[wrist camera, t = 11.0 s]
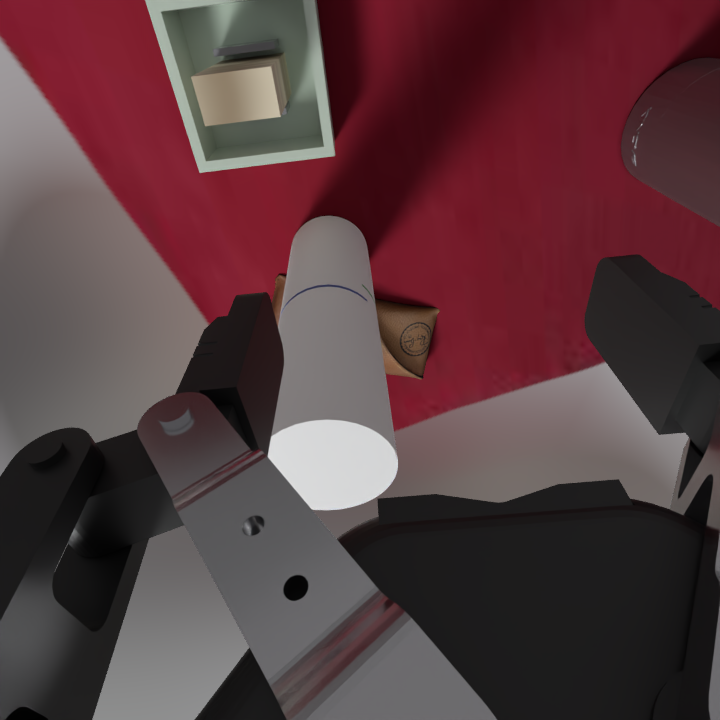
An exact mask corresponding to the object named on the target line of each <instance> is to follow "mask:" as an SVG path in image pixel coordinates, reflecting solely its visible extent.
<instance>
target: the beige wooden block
mask: <svg viewBox="0 0 720 720" xmlns="http://www.w3.org/2000/svg"><path fill="white" fill-rule="evenodd" d="M191 79H192V82H193V86H194V89H195V93H196V96H197V100H198V103H199V107H200V110H201V114H202V117H203V121H204V124H205V126H211V125H219V124H227V123H235V122H243V121H251V120H259V119H267V118H276V117H281V115H282V113H283V111H284V108H285V106H286V104H287V102H288V100H289V98H290V95H291V93H292V92H291V86H290V81H289V75H288V69H287V63H286V57H285V53H277V54H269V55H261V56H254V57H246V58H238V59H230V60H222V61H220V62H218V63H216V64H214V65H213V66H211V67H209V68H207V69H205V70H203V71H201V72H199V73H197V74H195V75H193V76H191Z"/></svg>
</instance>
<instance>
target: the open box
mask: <svg viewBox="0 0 720 720" xmlns="http://www.w3.org/2000/svg"><path fill="white" fill-rule="evenodd" d="M145 1H146V4H147V7H148V11H149V14H150V17H151V20H152V23H153V26H154V30H155V33H156V36H157V39H158V42H159V45H160V49H161V52H162V55H163V58H164V61H165V64H166V68H167V71H168V74H169V77H170V80H171V83H172V87H173V90H174V93H175V96H176V99H177V103H178V106H179V109H180V112H181V115H182V118H183V122H184V125H185V128H186V131H187V134H188V137H189V141H190V144H191V147H192V150H193V153H194V156H195V160H196V163H197V166H198V169H199V172H200V173H201V172H209V171H218V170H226V169H234V168H242V167H250V166H258V165H266V164H274V163H282V162H290V161H298V160H306V159H314V158H322V157H330V156H335V139H334V131H333V123H332V116H331V108H330V100H329V92H328V84H327V77H326V69H325V61H324V53H323V45H322V38H321V30H320V22H319V14H318V6H317V0H145ZM277 53H285V57H286V63H287V69H288V75H289V81H290V86H291V92H292V93H291V95H290V98H289V100H288V102H287V104H286V106H285V108H284V111H283V113H282V115H281V117H276V118H267V119H259V120H251V121H243V122H235V123H227V124H219V125H211V126H205V124H204V121H203V117H202V114H201V110H200V107H199V103H198V100H197V96H196V93H195V89H194V86H193V82H192V79H191V76H193V75H195V74H197V73H199V72H201V71H203V70H205V69H207V68H209V67H211V66H213V65H214V64H216V63H218V62H220V61H222V60H230V59H238V58H246V57H254V56H261V55H269V54H277Z"/></svg>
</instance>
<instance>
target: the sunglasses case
mask: <svg viewBox="0 0 720 720" xmlns="http://www.w3.org/2000/svg"><path fill="white" fill-rule="evenodd" d="M286 277H287V276H285V275H278V276H277V277H276V279H275V281H276V283H275V285H276V288H275V291H274V296H273V300H272V307H273V310H274V314H275V318H276V322H277V326H278V324H279V318H280V312H281V306H282V300H283V294H284V289H285V283H286ZM375 305H376V312H377V319H378V326H379V332H380V339H381V346H382V353H383V360H384V367H385V374H391V375H399V376H407V377H413V378H418V379H423V374H424V369H425V365H426V360H427V355H428V351H429V346H430V342H431V337H432V333H433V329H434V326H435V322H436V318H437V314H438V312H440V310H439V309H437V308H434V307H425V306H424V307H423V306H412V305H405V304H399V303H394V302H388V301H384V300H379V299H375Z"/></svg>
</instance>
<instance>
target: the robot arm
mask: <svg viewBox="0 0 720 720" xmlns="http://www.w3.org/2000/svg"><path fill="white" fill-rule="evenodd" d="M621 151H622V158H623V161H624V164H625V167H626V168H627V170H628V171H629V172H630V174H631V175H633V176H634V177H635V178H637V179H638V180H640V181H641V182H643V183H645V184H647V185H648V186H650V187H652V188H654V189H655V190H657V191H659V192H660V193H662V194H663V195H665V196H667V197H669V198H670V199H672V200H674V201H676V202H677V203H679V204H681V205H683V206H684V207H686V208H688V209H690V210H691V211H693V212H695V213H697V214H698V215H700V216H702V217H704V218H705V219H707V220H709V221H711V222H712V223H714V224H716V225H718V226H719V227H720V59H717V58H709V57H707V58H698V59H693V60H690V61H687V62H684V63H681V64H680V65H678V66H676V67H674V68H672V69H671V70H669V71H667V72H666V73H665V74H663V75H662V76H661V77H660V78H658V79H657V80H656V81H655V82H654V83H653V84H652V85H651V86H650V87H649V88H648V89H647V90H646V91H645V92H644V93H643V94H642V96H641V97H640V99H639V100H638V101H637V103H636V104H635V106H634V107H633V109H632V111H631V113H630V115H629V117H628V119H627V122H626V125H625V128H624V131H623V135H622V142H621ZM585 329H586V333H587V336H588V338H589V339H590V341H591V342H592V344H593V345H594V346H595V348H596V349H597V350H598V352H599V353H600V355H601V356H602V357H603V359H604V360H605V361H606V363H607V364H608V366H609V367H610V368H611V370H612V371H613V372H614V374H615V375H616V376H617V378H618V379H619V381H620V382H621V383H622V385H623V386H624V387H625V389H626V390H627V392H628V393H629V394H630V396H631V397H632V398H633V400H634V401H635V403H636V404H637V405H638V407H639V408H640V409H641V411H642V412H643V414H644V415H645V416H646V418H647V419H648V420H649V422H650V423H651V424H652V426H653V427H654V429H655V430H656V431H657V433H658V434H659V435H661V434H673V433H686V434H687V435H688V436H689V439H688V441H687V443H686V445H685V447H684V449H683V454H682V457H681V462H680V466H679V470H678V475H677V479H676V484H675V488H674V492H673V496H672V501H671V505H670V509H667V508H664V507H660V506H658V505H655V504H652V503H647V502H643V501H639V500H635V499H630V498H629V496H628V495H627V493H626V491H625V489H624V488H623V486H622V484H621V483H620V481H619V480H606V481H594V482H581V483H568V484H558V485H555V486H552V487H549V488H546V489H543V490H540V491H537V492H534V493H531V494H528V495H525V496H522V497H519V498H516V499H513V500H510V501H507V502H503V503H495V502H487V501H480V500H473V499H466V498H459V497H452V496H445V495H437V494H431V495H419V496H407V497H394V498H381V499H378V513H379V517H376V518H373V519H370V520H368V521H366V522H363V523H361V524H360V525H357V526H355V527H354V528H352V529H350V530H349V531H347V532H346V533H344V534H342V535H341V536H340V537H339V538H337V539H336V538H335V537H334V535H333V534H332V533H331V532H330V531H329V530H328V529H327V527H326V526H325V525H324V524H323V523H322V521H321V520H320V519H319V518H318V516H317V515H316V514H315V513H314V512H313V511H312V509H311V508H310V507H309V506H308V504H307V503H306V502H305V501H304V500H303V499H302V497H301V496H300V495H299V494H298V493H297V491H296V490H295V489H294V488H293V487H292V485H291V484H290V483H289V482H288V481H287V479H286V478H285V477H284V476H283V475H282V473H281V472H280V471H279V470H278V469H277V468H276V466H275V465H274V464H273V463H272V462H271V460H270V459H269V458H268V452H269V446H270V440H271V435H272V429H273V424H274V418H275V413H276V407H277V402H278V396H279V391H280V385H281V380H282V374H283V368H284V352H283V345H282V341H281V337H280V333H279V329H278V326H277V322H276V318H275V314H274V310H273V307H272V303H271V299H270V297H269V295H268V293H267V292H263V293H254V294H244V295H237V296H236V297H235V299H234V301H233V304H232V306H231V309H230V311H229V314H228V316H223V317H217V318H216V319H215V320H214V321H213V322H212V323H211V324H210V325H209V326H208V327H207V328H206V329H205V330H204V332H203V334H202V336H201V338H200V341H199V343H198V346H197V347H196V349H195V352H194V354H193V358H191V361H190V363H189V365H188V367H187V370H186V372H185V374H184V376H183V378H182V381H181V383H180V385H179V387H178V389H177V392H176V394H175V395H172V396H169V397H167V398H165V399H163V400H161V401H159V402H157V403H156V404H154V405H153V406H152V407H151V408H149V409H148V410H147V411H146V412H145V413H144V415H143V416H142V417H141V419H140V421H139V423H138V427H137V430H134V431H132V432H129V433H125V434H122V435H119V436H117V437H113V438H110V439H107V440H104V441H101V442H98V443H95V442H94V441H93V439H92V438H91V436H90V435H89V434H88V433H87V432H86V431H85V430H83V429H80V428H64V429H59V430H56V431H52V432H50V433H47V434H45V435H43V436H41V437H39V438H37V439H35V440H34V441H32V442H31V443H29V444H28V445H27V446H25V447H24V448H23V449H22V450H20V451H19V452H18V453H17V454H16V455H15V457H14V458H13V459H12V460H11V462H10V463H9V465H8V466H7V467H6V469H5V471H4V472H3V473H2V475H1V476H0V720H92V718H93V715H94V712H95V709H96V706H97V702H98V699H99V696H100V693H101V690H102V686H103V683H104V680H105V677H106V674H107V671H108V667H109V664H110V661H111V658H112V655H113V652H114V648H115V645H116V642H117V639H118V636H119V632H120V629H121V626H122V623H123V620H124V617H125V613H126V610H127V607H128V604H129V601H130V597H131V594H132V591H133V588H134V585H135V582H136V578H137V575H138V572H139V569H140V566H141V562H142V559H143V556H144V553H145V550H146V547H147V543H148V540H149V538H151V537H153V536H156V535H159V534H161V533H164V532H167V531H170V530H172V529H175V528H177V527H180V526H183V525H184V526H185V527H186V529H187V531H188V533H189V535H190V537H191V538H192V541H193V542H194V544H195V546H196V548H197V550H198V552H199V554H200V556H201V557H202V559H203V561H204V563H205V565H206V566H207V569H208V570H209V572H210V574H211V576H212V578H213V580H214V582H215V584H216V585H217V587H218V589H219V591H220V593H221V595H222V597H223V599H224V600H225V602H226V604H227V606H228V608H229V610H230V612H231V613H232V615H233V617H234V619H235V621H236V623H237V625H238V627H239V629H240V630H241V632H242V634H243V636H244V638H245V640H246V642H247V644H248V645H249V649H248V650H247V651H246V653H245V654H244V656H243V657H242V658H241V659H240V661H239V662H238V663H237V665H236V666H235V667H234V669H233V670H232V671H231V673H230V674H229V675H228V676H227V678H226V679H225V681H224V682H223V683H222V685H221V686H220V687H219V688H218V690H217V691H216V692H215V694H214V695H213V696H212V698H211V699H210V700H209V702H208V703H207V704H206V706H205V707H204V708H203V710H202V711H201V713H199V715H198V716H197V717H196V719H195V720H720V311H719V310H718V309H717V308H712V304H710V303H709V302H708V301H707V300H705V299H704V298H703V297H699V294H698V293H697V292H696V291H694V290H693V289H692V288H691V287H689V286H688V285H687V284H686V283H685V282H682V281H680V280H678V279H676V278H673V277H671V276H669V275H666V274H664V273H661V272H660V271H659V270H657V269H656V268H655V267H654V266H653V265H651V264H650V263H649V262H648V261H647V260H645V259H644V258H643V257H642V256H640V255H626V256H617V257H607V258H603V259H601V260H600V262H599V263H598V265H597V268H596V272H595V276H594V280H593V284H592V288H591V292H590V297H589V301H588V305H587V309H586V313H585ZM67 543H68V545H67ZM66 545H67V547H66ZM65 547H66V549H65ZM64 550H65V552H64ZM63 552H64V554H63ZM62 554H63V556H62ZM61 556H62V558H61ZM60 558H61V560H60ZM59 560H60V562H59ZM58 562H59V564H58ZM57 564H58V567H57ZM56 567H57V569H56ZM55 569H56V571H55ZM54 572H55V573H54Z"/></svg>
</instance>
